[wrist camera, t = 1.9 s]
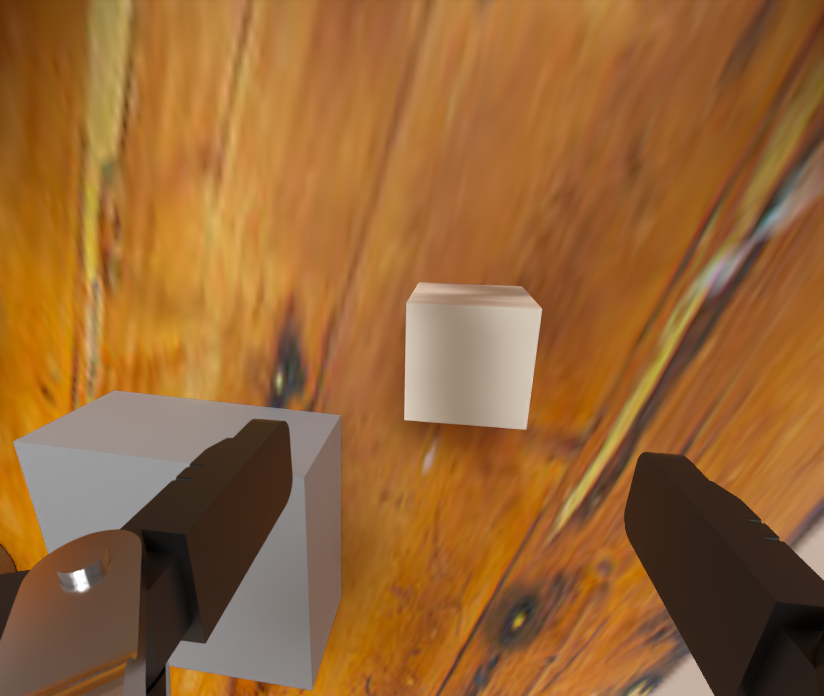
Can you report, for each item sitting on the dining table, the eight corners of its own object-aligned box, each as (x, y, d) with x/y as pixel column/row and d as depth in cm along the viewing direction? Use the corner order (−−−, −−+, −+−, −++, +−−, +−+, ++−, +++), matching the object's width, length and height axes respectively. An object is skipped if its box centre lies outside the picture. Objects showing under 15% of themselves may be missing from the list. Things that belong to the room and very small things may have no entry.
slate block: (342, 412, 23) (304, 477, 17) (342, 592, 27) (312, 690, 22) (118, 388, 24) (13, 441, 18) (154, 564, 28) (78, 650, 23)
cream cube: (521, 286, 19) (542, 309, 14) (511, 380, 21) (526, 429, 16) (419, 281, 20) (406, 302, 15) (416, 374, 21) (404, 420, 16)
